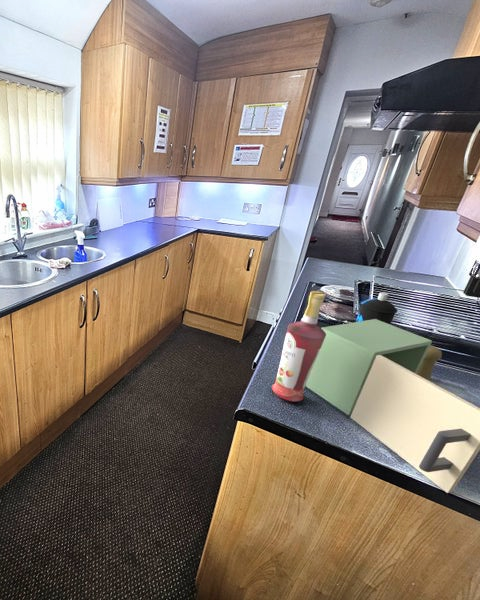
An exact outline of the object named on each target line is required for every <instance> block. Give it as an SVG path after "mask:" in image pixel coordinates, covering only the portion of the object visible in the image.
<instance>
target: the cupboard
mask: <svg viewBox="0 0 480 600" xmlns="http://www.w3.org/2000/svg"><path fill="white" fill-rule="evenodd" d="M321 328H322V329H323V331H324V332H325V333H326V337H325V339H324V341H323V344H322V346H321V349H320V352H319V354H318V356H317V359H316V361H315V363H314V365H313V368H312V370H311V373H310V375H309V378H308V380H307V383H306V385H305V388H308V389H309V390H310V391H312V392H313V393H315V394H317V395H318V396H319V397H321V398H322V399H324V400H325V401H327V402H328V403H329V404H331V405H333V406H334V407H336V408H337V409H339V410H340V411H341V412H343V413H344V414H346V415H347V416H351V414H352V412H353V410H354V407H355V405H356V403H357V400H358V398H359V396H360V393H361V391H362V389H363V386H364V384H365V382H366V379H367V377H368V375H369V372H370V370H371V367H372V365H373V363H374V360H375V358H376V356H377V355H381V356H383V357H385V358H387V359H389V360H391V361H393V362H395V363H396V364H398V365H400V366H402V367H404V368H406V369H408V370H409V371H411V372H413V373H415V374H417V372H418V370H419V368H420V365H421V363H422V361H423V359H424V357H425V355H426V353H427V351H428V349H429V347H430V345H431V346H432V342H433V340H431V339H429V338H426V337H424V336H421V335H418V334H416V333H414V332H411V331H408V330H405V329H403V328H401V327H397V326H395V325H392V324H387V323H385V322H382V321H379V320H377V319H372V320H366V321H360V322H355V321H354V322H348V323H342V324H336V325H330V326H323V327H321Z"/></svg>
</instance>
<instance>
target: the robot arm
mask: <svg viewBox="0 0 480 600" xmlns="http://www.w3.org/2000/svg"><path fill="white" fill-rule="evenodd" d="M471 257H472V258H473V259H474V260H475V265H474V268H473V270H472V273H471V275H470V277H469V280H468V281H467V283H466V285H465V288H464V289H463V292H462V293H463V294H464V295H465V296H466V297H471V298H478V299H480V235H479V236H478V238H477V240H476V242H475V244H474V247H473V249H472V251H471Z"/></svg>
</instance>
